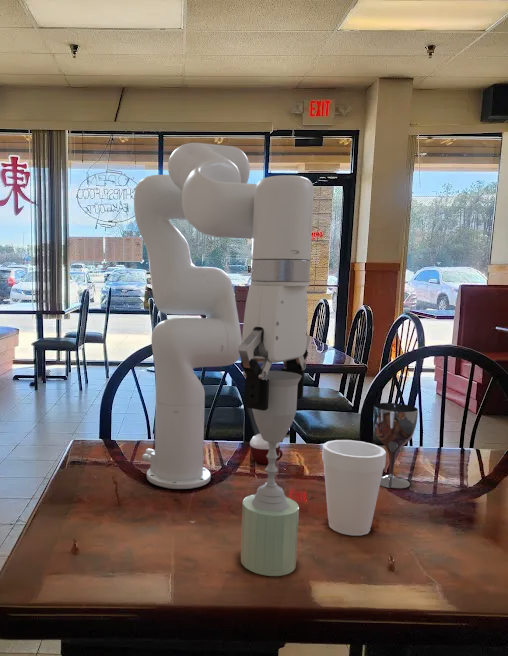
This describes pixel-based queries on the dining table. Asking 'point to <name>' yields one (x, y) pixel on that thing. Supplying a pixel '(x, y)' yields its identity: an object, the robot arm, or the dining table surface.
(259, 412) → the chalice
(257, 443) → the cocoa
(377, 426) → the wine glass
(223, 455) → the dining table surface
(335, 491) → the foam cup
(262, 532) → the mug
